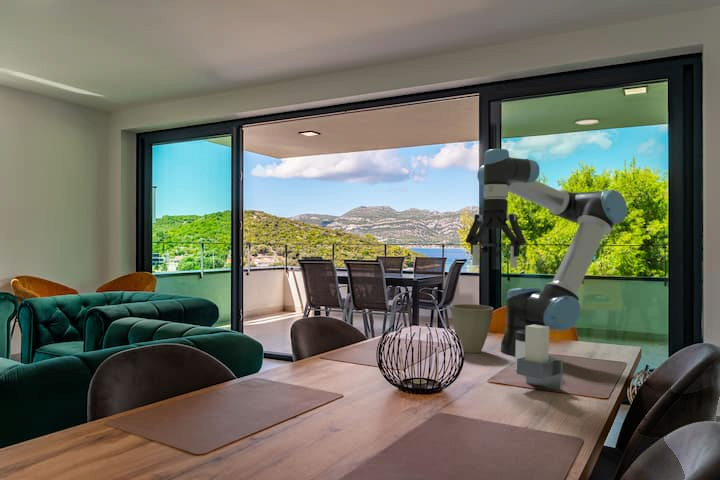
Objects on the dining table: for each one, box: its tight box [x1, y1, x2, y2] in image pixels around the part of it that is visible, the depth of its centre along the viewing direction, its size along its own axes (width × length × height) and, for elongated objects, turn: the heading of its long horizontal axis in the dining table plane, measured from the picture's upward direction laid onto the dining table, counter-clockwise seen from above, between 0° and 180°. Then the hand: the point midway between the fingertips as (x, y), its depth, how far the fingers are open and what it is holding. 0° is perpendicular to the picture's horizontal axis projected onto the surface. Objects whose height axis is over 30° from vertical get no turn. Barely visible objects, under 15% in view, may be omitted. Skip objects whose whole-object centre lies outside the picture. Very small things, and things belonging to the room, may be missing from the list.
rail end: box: [525, 324, 550, 363], centre depth 148 cm, size 4×4×12 cm
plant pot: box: [450, 303, 494, 354], centre depth 196 cm, size 15×15×16 cm
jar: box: [514, 329, 526, 372], centre depth 169 cm, size 9×8×12 cm
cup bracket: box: [516, 357, 564, 391], centre depth 148 cm, size 9×10×8 cm
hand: (494, 266), depth 173 cm, fingers open, 13 cm apart
